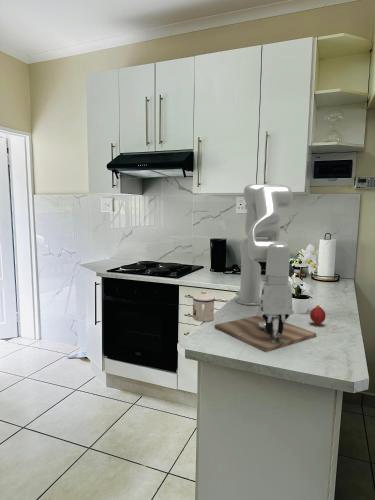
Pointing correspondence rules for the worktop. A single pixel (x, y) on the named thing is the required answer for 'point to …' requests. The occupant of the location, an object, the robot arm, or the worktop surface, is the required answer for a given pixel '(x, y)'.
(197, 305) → the teacup with lid
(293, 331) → the wooden cutting board
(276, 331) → the dial lever
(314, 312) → the onion
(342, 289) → the worktop surface
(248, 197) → the robot arm
